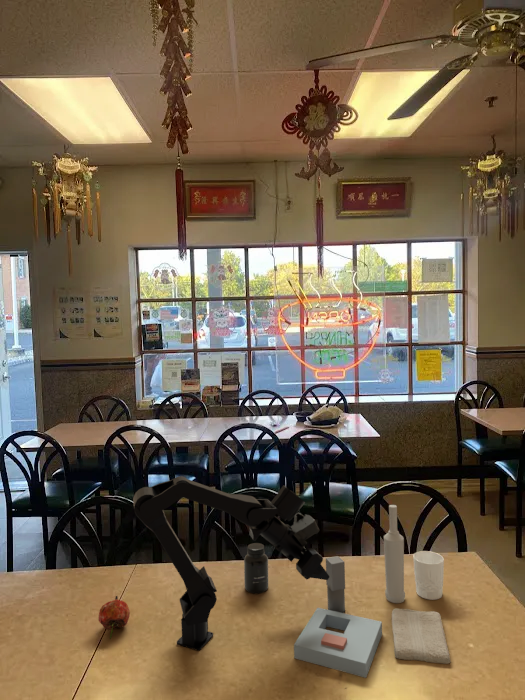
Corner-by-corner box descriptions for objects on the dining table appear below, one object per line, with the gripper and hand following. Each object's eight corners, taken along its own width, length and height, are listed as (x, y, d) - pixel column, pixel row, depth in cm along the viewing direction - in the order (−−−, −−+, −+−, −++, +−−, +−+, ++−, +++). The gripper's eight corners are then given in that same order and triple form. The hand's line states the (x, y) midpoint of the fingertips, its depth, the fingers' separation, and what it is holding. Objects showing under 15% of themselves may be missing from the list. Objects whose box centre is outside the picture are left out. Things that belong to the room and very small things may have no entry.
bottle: (406, 604, 127) (403, 509, 126) (385, 602, 128) (383, 509, 128) (404, 594, 132) (402, 503, 132) (384, 592, 133) (382, 502, 133)
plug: (332, 615, 123) (330, 565, 123) (325, 606, 127) (323, 557, 127) (348, 612, 124) (346, 562, 124) (340, 603, 129) (338, 555, 128)
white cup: (449, 601, 128) (448, 563, 128) (419, 601, 128) (418, 564, 128) (438, 585, 136) (438, 550, 136) (410, 586, 136) (409, 551, 136)
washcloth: (439, 619, 121) (439, 607, 121) (452, 668, 103) (452, 653, 103) (390, 615, 123) (390, 603, 123) (394, 662, 106) (394, 648, 106)
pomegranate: (129, 643, 118) (138, 601, 126) (118, 631, 114) (128, 588, 121) (100, 645, 119) (111, 603, 127) (88, 633, 115) (100, 590, 122)
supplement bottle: (258, 596, 133) (257, 553, 133) (239, 589, 137) (238, 547, 137) (273, 586, 139) (272, 544, 138) (254, 579, 143) (253, 539, 142)
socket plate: (366, 677, 100) (365, 659, 100) (294, 658, 107) (293, 641, 107) (382, 634, 115) (381, 618, 115) (317, 619, 122) (317, 604, 122)
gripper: (313, 521, 113) (357, 559, 117) (285, 497, 131) (324, 531, 135) (283, 560, 111) (328, 598, 115) (259, 530, 129) (299, 564, 133)
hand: (320, 569), depth 124 cm, fingers open, 9 cm apart
